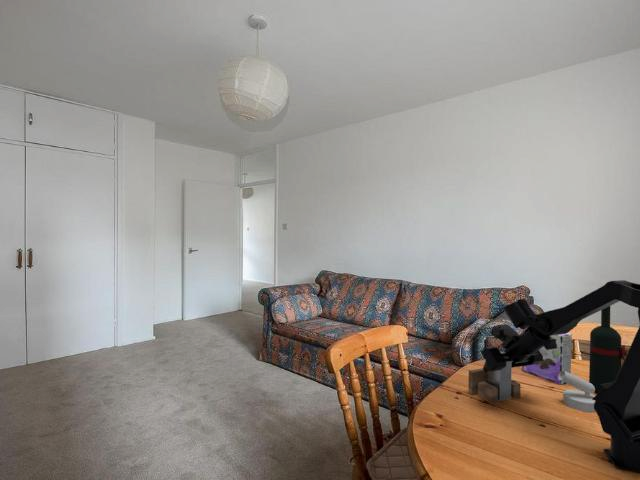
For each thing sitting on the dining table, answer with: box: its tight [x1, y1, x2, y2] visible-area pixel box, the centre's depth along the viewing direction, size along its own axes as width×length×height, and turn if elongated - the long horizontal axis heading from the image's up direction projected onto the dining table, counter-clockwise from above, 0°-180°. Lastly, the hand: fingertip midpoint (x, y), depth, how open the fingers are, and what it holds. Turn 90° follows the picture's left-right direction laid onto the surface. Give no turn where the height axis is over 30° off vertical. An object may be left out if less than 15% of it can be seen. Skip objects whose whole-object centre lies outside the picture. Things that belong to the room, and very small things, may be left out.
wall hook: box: [558, 370, 596, 413], centre depth 102 cm, size 9×10×10 cm
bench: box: [468, 367, 521, 404], centre depth 108 cm, size 8×14×7 cm, turn 110°
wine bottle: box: [588, 306, 628, 395], centre depth 110 cm, size 8×10×30 cm
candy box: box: [521, 328, 573, 385], centre depth 123 cm, size 14×6×16 cm, turn 25°
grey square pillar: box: [488, 350, 512, 402], centre depth 107 cm, size 4×4×13 cm
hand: (495, 368), depth 108 cm, fingers open, 9 cm apart
